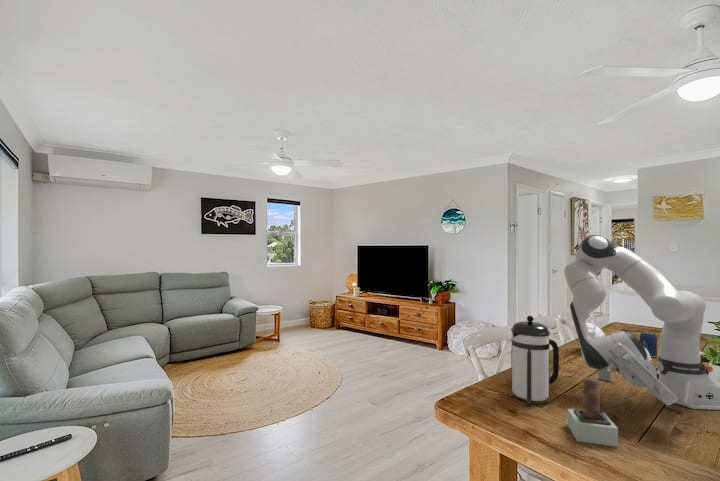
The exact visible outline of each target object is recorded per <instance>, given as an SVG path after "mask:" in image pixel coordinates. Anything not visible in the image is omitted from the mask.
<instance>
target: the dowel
mask: <svg viewBox="0 0 720 481" xmlns="http://www.w3.org/2000/svg"><path fill="white" fill-rule="evenodd" d="M600 381H601V380H599V379H597V378H593V377H583V392H582V393H583V394H582V395H583V398H582V400H583V402H582V405H583V406H582V410H583V418H584V419H590V420H599V412H600V395H601V394H600V392H601V391H600V387H601V386H600V385H601V384H600Z"/></svg>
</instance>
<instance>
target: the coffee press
mask: <svg viewBox="0 0 720 481" xmlns="http://www.w3.org/2000/svg"><path fill="white" fill-rule="evenodd" d="M526 320H527V321H518V322H515V323H514V324H513V326H512V327H511V328H510V330H511V331H510V332H511V349H510V350H511V353H510V354H511V376H510V377H511V378H510V379H511V380H510V381H511V382H510V384H511V386H510V387H511V388H510V389H509V391H507V395H508V397H509V398H511V397H513V396H514V395H515V396H516V397H517V398H520V399H522V400H526V407H530V408H532V401H533V402H542V401H546V402H548V403H549V405H550V404H551V405H552V404H554V398H553V397H552V396H551V393H550V392H551V390H550V384H552V383H555V381H557V379H558V377H559V371H560V354H559V352H560V351H559V346H558V344H557V342H556V341H555V340H553V339H550V336H551V331H550V330H549V329H548V327H547V326H546V325H545V324H543V323H540V322H535V321H534V320H535V319H534V317H533V316H532V315H528V316H527V317H526ZM550 346H551V347H552V375H551V374H550V370H551V369H550V364H551V363H550V362H551V360H550V358H551V357H550V354H551V353H550V350H551V349H550ZM550 375H551V376H550ZM511 391H512V392H513V393H512V394H510V392H511ZM548 398H550V399H551V401H550V400H549V399H548Z"/></svg>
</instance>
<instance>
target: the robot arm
mask: <svg viewBox="0 0 720 481" xmlns="http://www.w3.org/2000/svg"><path fill="white" fill-rule="evenodd" d="M574 259H575V260H574V261H572V262H569V263H568V264H567V265H566V266H565V267H564V269H563V270H564V271H563V272H564V276H565V280H566V282H567V284H568V287H569V289H570V291H571V292H572V296H573V297H572V298H573V299H572V301H571V303H569V309H570V313H571V317H572V320H573V324H574V327H575V330H576V334H577V337H578V341H579V345H580V352H581V356H582V359H583V361H584V362H585V364H586V365H587V366H588V367H590V368H592V369H595V370H597V371H599V370H601V369H604V368H607V369H608V368H609V367H611V366H613V365H616V366H617V369H618V370H619V373H620V376H621V378H622V379H623V380H624V381H625V382H626V383H628V384H630V385H633V386H635V387H638V388H647V389H648V391H650V393H651V394H653V395H654V396H655V397H656V399H658V400H659V401H660V402H661V403H663V404H665V405H666V406H671V405H672V404H677V405H681V406H684V407H687V408H690V409H694V410H709V411H710V410H711V411H713V410H715V411H720V382H718V381H717V380H715V379H714V378H713V377H711V376H710V375H709V374H707V373H712V372H714V367H713V366H711V365H708V364H704V363H703V362H700V344H701V343H700V339H701V334H702V329H703V324H704V314H705V311H706V308H707V306H706V305H707V304H706V301H705V300H704V299H703V298H702V297H701V296H700V295H698V294H696V293H694V292H693V291H688V290H678V289H676V288H675V287H674V286H673V285H672V284H671V283H670V282H669V281H668V279H667V278H665V275H664V274H663V273H662V272H661V271H659V270H658V269H657V268H655V267H654V266H653V265H652V264H650V263H649V262H647V261H646V260H645V259H643V258H642V257H641V256H639V255H638V254H636V253H634V251H631V250H630V249H628V248H625V247H623V246H617V247H616V245H615V243H614V242H611V240H610V239H608V238H606V237H604V236H602V235H598V234H591V235H588V236H587V237H585V238H584V239H583V240H582V242H581V244H580V247H579V248H578V250H577V251H576V255H575V258H574ZM604 269H607V270H609V271H611V272H613V273H614V274H615V276H617V277H618V278H619V279H620V280H621V281H622V282H624V284H626V285H628V287H629V288H631V289H632V290H633V291H634V292H636V294H637V295H638V296H639V297H640V298H641V299H642V301H643V302H645V303H646V305H647V306H648V307H649V309H651V310H650V311H651V312H652V314H653V315H654V317H655V318H657V319H658V320H660V321H661V322H663V327H662V330H661V333H660V334H659V356H658V360H657V361H658V363H657V368H658V373H657V370H656V369H655V367H654V365H653V364H652V363H649V362H648V361H646V360H647V353H646V350H645V348H644V347H643V345H642V343H641V342H640V338H638V337H637V336H636V335H635V334H633V333H632V332H628V331H626V330H621V331H617V332H614V333H612V334H609V335H605V337H602V338H598V339H591V338H590V334H589V331H588V328H587V325H586V323H587V322H586V321H587V318H588V317H589V315H591V313H592V312H593V311H595V310H597V308H599V307H600V306H601V305H603V303H604V301H605V299H606V296H607V291H606V288H605V286H604V283H603V282H602V281H601V279H600V278H599V275H600V274H601V273H602V270H604ZM706 371H707V372H706ZM657 375H658V376H657ZM657 377H658V378H657Z"/></svg>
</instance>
